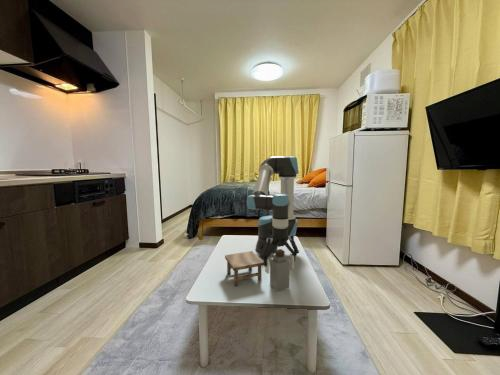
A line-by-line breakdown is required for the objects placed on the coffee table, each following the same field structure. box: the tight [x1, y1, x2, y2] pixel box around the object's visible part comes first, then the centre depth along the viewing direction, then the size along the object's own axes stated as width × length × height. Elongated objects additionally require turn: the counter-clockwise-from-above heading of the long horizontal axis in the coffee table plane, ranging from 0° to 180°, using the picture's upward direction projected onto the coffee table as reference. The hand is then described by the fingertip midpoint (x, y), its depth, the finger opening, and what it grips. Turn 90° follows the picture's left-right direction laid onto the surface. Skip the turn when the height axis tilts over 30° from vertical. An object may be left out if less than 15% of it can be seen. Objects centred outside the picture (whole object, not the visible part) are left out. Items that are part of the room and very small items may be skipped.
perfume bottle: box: [269, 248, 291, 292], centre depth 106 cm, size 7×7×18 cm
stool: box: [224, 250, 264, 287], centre depth 116 cm, size 16×16×10 cm
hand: (279, 270), depth 106 cm, fingers open, 13 cm apart
